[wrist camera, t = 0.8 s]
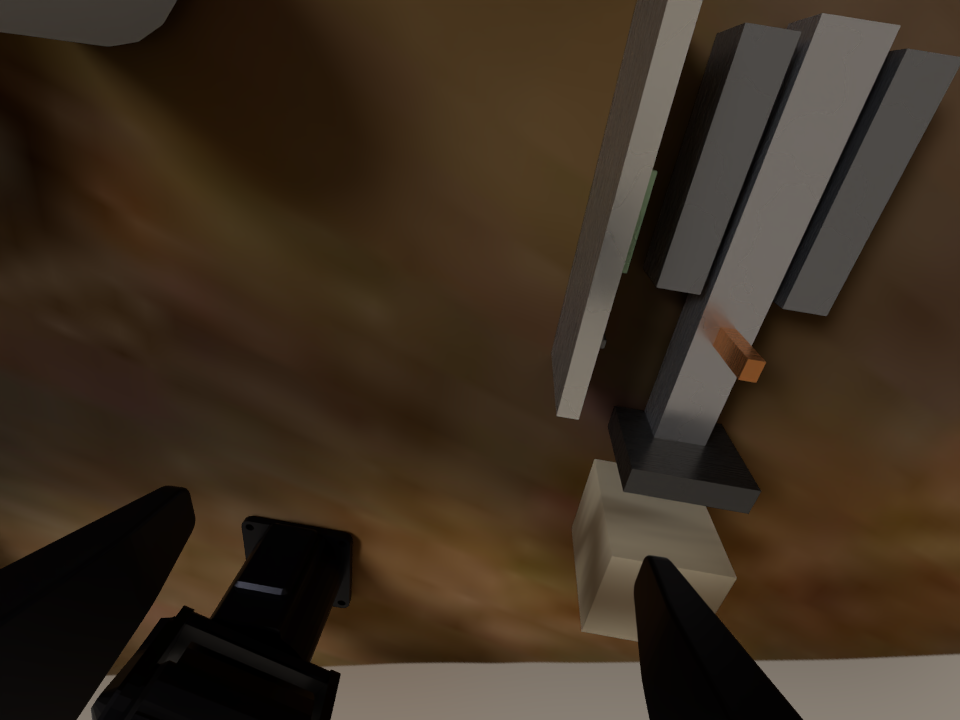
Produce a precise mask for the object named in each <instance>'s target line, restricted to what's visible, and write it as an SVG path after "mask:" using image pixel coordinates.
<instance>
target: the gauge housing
mask: <svg viewBox="0 0 960 720" xmlns="http://www.w3.org/2000/svg"><path fill="white" fill-rule="evenodd" d="M701 4H702V0H638V1H637V3H636V7H635V11H634V15H633V19H632V23H631V27H630V31H629V36H628V40H627V44H626V48H625V52H624V56H623V60H622V64H621V68H620V73H619V77H618V81H617V85H616V89H615V93H614V97H613V101H612V106H611V110H610V114H609V118H608V122H607V126H606V130H605V134H604V138H603V143H602V147H601V151H600V155H599V159H598V163H597V167H596V171H595V176H594V180H593V184H592V188H591V192H590V196H589V200H588V204H587V208H586V213H585V217H584V221H583V225H582V229H581V233H580V237H579V241H578V245H577V250H576V254H575V258H574V262H573V266H572V270H571V274H570V278H569V283H568V287H567V291H566V295H565V299H564V303H563V307H562V311H561V315H560V320H559V324H558V328H557V332H556V336H555V340H554V344H553V348H552V353H551V354H552V366H553V379H554V391H555V403H556V415H557V416H560V417H566V418H571V419H577V420H579V416H580V413H581V409H582V406H583V403H584V399H585V396H586V393H587V389H588V386H589V382H590V379H591V376H592V372H593V369H594V366H595V362H596V359H597V355H598V352H599V349H600V348H603V349H604V347H605V344H606V338H605V334H604V332H605V328H606V325H607V322H608V318H609V315H610V311H611V308H612V305H613V301H614V298H615V295H616V291H617V288H618V284H619V281H620V278H621V274H622V273H627V271H628V268H629V264H630V261H631V258H632V254H633V251H634V248H635V245H636V241H637V238H638V235H639V231H640V228H641V225H642V221H643V218H644V215H645V211H646V208H647V205H648V201H649V198H650V195H651V191H652V188H653V185H654V181H655V178H656V175H657V171H656V170H654V169H653V166H654V163H655V159H656V156H657V153H658V149H659V146H660V142H661V139H662V136H663V132H664V129H665V126H666V122H667V119H668V115H669V112H670V109H671V105H672V102H673V98H674V95H675V92H676V88H677V85H678V82H679V78H680V75H681V71H682V68H683V65H684V61H685V58H686V55H687V51H688V48H689V44H690V41H691V38H692V34H693V31H694V27H695V24H696V21H697V17H698V14H699V11H700V7H701ZM800 35H801V31H794V30H788V29H782V28H776V27H769V26H763V25H757V24H751V23H743V24H741V25H738V26H736V27H733V28H730V29H728V30H725V31H722V32H720V33H717V35H716V38H715V41H714V44H713V48H712V51H711V54H710V57H709V60H708V63H707V67H706V70H705V73H704V76H703V79H702V82H701V86H700V89H699V92H698V95H697V98H696V101H695V105H694V108H693V111H692V114H691V117H690V120H689V124H688V127H687V130H686V133H685V136H684V139H683V142H682V146H681V149H680V152H679V155H678V158H677V161H676V165H675V168H674V171H673V174H672V177H671V180H670V184H669V187H668V190H667V193H666V196H665V199H664V203H663V206H662V209H661V212H660V215H659V218H658V222H657V225H656V228H655V231H654V234H653V237H652V241H651V244H650V247H649V250H648V253H647V256H646V260H645V263H644V266H643V269H644V270H645V272H646V273H647V274H648V276H649V277H650V279H651V280H652V282H653V283H654V285H655V286H656V288H662V289H668V290H674V291H680V292H686V293H692V294H698V295H700V294H701V291H702V289H703V286H704V284H705V281H706V279H707V276H708V273H709V271H710V268H711V266H712V263H713V260H714V258H715V255H716V253H717V250H718V247H719V245H720V242H721V240H722V237H723V234H724V232H725V229H726V227H727V224H728V221H729V219H730V216H731V214H732V211H733V209H734V206H735V203H736V201H737V198H738V196H739V193H740V190H741V188H742V185H743V183H744V180H745V177H746V175H747V172H748V170H749V167H750V164H751V162H752V159H753V157H754V154H755V151H756V149H757V146H758V144H759V141H760V139H761V136H762V133H763V131H764V128H765V126H766V123H767V120H768V118H769V115H770V113H771V110H772V107H773V105H774V102H775V100H776V97H777V94H778V92H779V89H780V87H781V84H782V81H783V79H784V76H785V74H786V71H787V69H788V66H789V63H790V61H791V58H792V56H793V53H794V50H795V48H796V45H797V43H798V40H799V37H800ZM959 66H960V57H957V56H950V55H944V54H938V53H932V52H925V51H919V50H913V49H901V50H895V51H889V52H888V54H887V56H886V58H885V61H884V63H883V65H882V67H881V69H880V71H879V73H878V76H877V78H876V80H875V82H874V84H873V86H872V89H871V91H870V93H869V95H868V97H867V99H866V101H865V104H864V106H863V108H862V110H861V112H860V114H859V116H858V119H857V121H856V123H855V125H854V127H853V129H852V131H851V134H850V136H849V138H848V140H847V142H846V144H845V147H844V149H843V151H842V153H841V155H840V157H839V159H838V162H837V164H836V166H835V168H834V170H833V172H832V174H831V177H830V179H829V181H828V183H827V185H826V187H825V189H824V192H823V194H822V196H821V198H820V200H819V202H818V205H817V207H816V209H815V211H814V213H813V215H812V217H811V220H810V222H809V224H808V226H807V228H806V230H805V232H804V235H803V237H802V239H801V241H800V243H799V245H798V248H797V250H796V252H795V254H794V256H793V258H792V260H791V263H790V265H789V267H788V269H787V271H786V273H785V275H784V278H783V280H782V282H781V284H780V286H779V288H778V290H777V293H776V295H775V297H774V299H773V301H774V302H775V303H776V304H777V305H778V306H780V307H781V308H782V309H787V310H793V311H799V312H805V313H810V314H816V315H822V316H827V315H828V313H829V311H830V309H831V307H832V305H833V303H834V301H835V299H836V298H837V296H838V294H839V292H840V290H841V288H842V286H843V284H844V283H845V281H846V279H847V277H848V275H849V273H850V271H851V269H852V268H853V266H854V264H855V262H856V260H857V258H858V256H859V254H860V252H861V251H862V249H863V247H864V245H865V243H866V241H867V239H868V237H869V236H870V234H871V232H872V230H873V228H874V226H875V224H876V222H877V221H878V219H879V217H880V215H881V213H882V211H883V209H884V207H885V205H886V204H887V202H888V200H889V198H890V196H891V194H892V192H893V190H894V189H895V187H896V185H897V183H898V181H899V179H900V177H901V175H902V173H903V172H904V170H905V168H906V166H907V164H908V162H909V160H910V158H911V157H912V155H913V153H914V151H915V149H916V147H917V145H918V143H919V142H920V140H921V138H922V136H923V134H924V132H925V130H926V128H927V126H928V125H929V123H930V121H931V119H932V117H933V115H934V113H935V111H936V110H937V108H938V106H939V104H940V102H941V100H942V98H943V96H944V94H945V93H946V91H947V89H948V87H949V85H950V83H951V81H952V79H953V78H954V76H955V74H956V72H957V70H958V68H959Z"/></svg>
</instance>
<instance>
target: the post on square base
mask: <svg viewBox="0 0 960 720" xmlns="http://www.w3.org/2000/svg"><path fill="white" fill-rule="evenodd" d="M899 28H900V25H894V24H887V23H881V22H875V21H868V20H862V19H856V18H850V17H843V16H837V15H831V14H825V13H821V14H818V15H815V16H812V17H808V18H805V19H802V20H799V21H796V22H792V23H789V24H788V27H787V29H788V30H794V31H801V35H800V37H799V40H798V43H797V45H796V48H795V50H794V53H793V56H792V58H791V61H790V63H789V66H788V69H787V71H786V74H785V76H784V79H783V81H782V84H781V87H780V89H779V92H778V94H777V97H776V100H775V102H774V105H773V107H772V110H771V113H770V115H769V118H768V120H767V123H766V126H765V128H764V131H763V133H762V136H761V139H760V141H759V144H758V146H757V149H756V151H755V154H754V157H753V159H752V162H751V164H750V167H749V170H748V172H747V175H746V177H745V180H744V183H743V185H742V188H741V190H740V193H739V196H738V198H737V201H736V203H735V206H734V209H733V211H732V214H731V216H730V219H729V221H728V224H727V227H726V229H725V232H724V234H723V237H722V240H721V242H720V245H719V247H718V250H717V253H716V255H715V258H714V260H713V263H712V266H711V268H710V271H709V273H708V276H707V279H706V281H705V284H704V286H703V289H702V291H701V294H700V295H698V294H692V293H688V296H687V298H686V301H685V304H684V306H683V309H682V312H681V314H680V317H679V320H678V322H677V325H676V328H675V330H674V333H673V336H672V338H671V341H670V344H669V347H668V349H667V352H666V355H665V357H664V360H663V363H662V365H661V368H660V371H659V373H658V376H657V379H656V381H655V384H654V387H653V389H652V392H651V395H650V398H649V400H648V403H647V406H646V408H645V411H642V410H636V409H630V408H624V407H619V406H614V409H613V412H612V415H611V418H610V421H609V424H608V430H609V434H610V438H611V442H612V446H613V451H614V455H615V459H616V463H617V467H618V472H619V476H620V480H621V484H622V488H623V492H627V493H633V494H639V495H644V496H650V497H656V498H662V499H667V500H673V501H679V502H684V503H690V504H696V505H702V506H707V507H713V508H719V509H724V510H730V511H736V512H742V513H747V514H749V512H750V510H751V508H752V507H753V505H754V503H755V501H756V500H757V498H758V496H759V494H760V493H761V490H760V488H759V487H758V485H757V483H756V482H755V480H754V478H753V477H752V475H751V473H750V472H749V470H748V468H747V466H746V465H745V463H744V461H743V460H742V458H741V456H740V455H739V453H738V451H737V450H736V448H735V446H734V445H733V443H732V441H731V440H730V438H729V436H728V435H727V433H726V431H725V429H724V428H723V426H722V424H717V423H716V422H717V419H718V417H719V415H720V413H721V411H722V409H723V406H724V404H725V402H726V400H727V398H728V396H729V394H730V391H731V389H732V387H733V385H734V383H735V381H736V379H738V380H743V381H749V382H755V383H756V382H757V380H758V378H759V376H760V374H761V372H762V370H763V368H764V366H765V364H766V361H765V360H764V359H763V358H762V357H761V356H760V355H759V354H758V352H757V351H756V350H755V349H754V348H753V347H752V344H753V342H754V340H755V338H756V336H757V333H758V331H759V329H760V327H761V325H762V323H763V321H764V318H765V316H766V314H767V312H768V310H769V308H770V306H771V303H772V301H773V299H774V297H775V295H776V293H777V290H778V288H779V286H780V284H781V282H782V280H783V278H784V275H785V273H786V271H787V269H788V267H789V265H790V263H791V260H792V258H793V256H794V254H795V252H796V250H797V248H798V245H799V243H800V241H801V239H802V237H803V235H804V232H805V230H806V228H807V226H808V224H809V222H810V220H811V217H812V215H813V213H814V211H815V209H816V207H817V205H818V202H819V200H820V198H821V196H822V194H823V192H824V189H825V187H826V185H827V183H828V181H829V179H830V177H831V174H832V172H833V170H834V168H835V166H836V164H837V162H838V159H839V157H840V155H841V153H842V151H843V149H844V147H845V144H846V142H847V140H848V138H849V136H850V134H851V131H852V129H853V127H854V125H855V123H856V121H857V119H858V116H859V114H860V112H861V110H862V108H863V106H864V104H865V101H866V99H867V97H868V95H869V93H870V91H871V89H872V86H873V84H874V82H875V80H876V78H877V76H878V73H879V71H880V69H881V67H882V65H883V63H884V61H885V58H886V56H887V54H888V52H889V50H890V48H891V46H892V43H893V41H894V39H895V37H896V35H897V33H898V31H899Z"/></svg>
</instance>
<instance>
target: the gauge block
mask: <svg viewBox="0 0 960 720" xmlns="http://www.w3.org/2000/svg"><path fill="white" fill-rule="evenodd" d="M572 537H573V548H574V558H575V568H576V579H577V589H578V600H579V610H580V620H581V631H582V632H587V633H593V634H599V635H604V636H610V637H615V638H621V639H627V640H632V641H638V636H637V626H636V615H635V605H634V584H635V580H636V578H637V575H638V573H639V570H640V567H641V565H642V562H643V560H644V558H645V557H646V556H647V555H653V556H660V557H665V558H668V559H669V560H670V561H671V562H672V563H673V564H674V565H675V566H676V568H677V569H678V570H679V571H680V572H681V574H682V575H683V576H684V577H685V578H686V580H687V581H688V582H689V583H690V584H691V586H692V587H693V588H694V589H695V590H696V592H697V593H698V594H699V595H700V596H701V598H702V599H703V600H704V601H705V602H706V604H707V605H708V606H709V607H710V608H711V610H712V611H713V612H714V613H716V612H717V610H718V608H719V607H720V605H721V604H722V602H723V600H724V599H725V597H726V595H727V594H728V592H729V590H730V589H731V587H732V585H733V584H734V582H735V581H736V579H737V577H736V575H735V573H734V570H733V568H732V566H731V563H730V561H729V559H728V556H727V554H726V552H725V549H724V547H723V545H722V543H721V540H720V538H719V536H718V533H717V531H716V529H715V526H714V524H713V522H712V520H711V517H710V515H709V513H708V510H707V508H706V506H702V505H696V504H690V503H684V502H679V501H673V500H667V499H662V498H656V497H650V496H644V495H639V494H633V493H627V492H623V488H622V484H621V480H620V476H619V472H618V467H617V463H615V462H609V461H604V460H598V459H594V462H593V465H592V468H591V471H590V474H589V477H588V480H587V483H586V486H585V489H584V492H583V495H582V498H581V501H580V505H579V508H578V511H577V514H576V517H575V520H574V523H573V526H572Z"/></svg>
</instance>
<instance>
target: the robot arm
mask: <svg viewBox="0 0 960 720" xmlns="http://www.w3.org/2000/svg"><path fill="white" fill-rule="evenodd" d="M194 525H195V514H194V509H193V505H192V501H191V496H190V493H189V491H188V490H187V489H186V488H183V487H176V486H163V487H161V488H159V489H157V490H155V491H153V492H151V493H149V494H147V495H145V496H143V497H141V498H139V499H137V500H135V501H133V502H131V503H129V504H127V505H125V506H123V507H121V508H120V509H118V510H116V511H114V512H112V513H110V514H108V515H106V516H104V517H102V518H100V519H98V520H96V521H94V522H92V523H90V524H88V525H86V526H84V527H82V528H80V529H78V530H76V531H74V532H72V533H70V534H69V535H67V536H65V537H63V538H61V539H59V540H57V541H55V542H53V543H51V544H49V545H47V546H45V547H43V548H41V549H39V550H37V551H35V552H33V553H31V554H29V555H27V556H25V557H23V558H21V559H19V560H18V561H16V562H14V563H12V564H10V565H8V566H6V567H4V568H2V569H0V720H77V718H78V717H79V715H80V714H81V712H82V711H83V709H84V708H85V706H86V705H87V703H88V702H89V700H90V699H91V697H92V696H93V694H94V693H95V691H96V689H97V688H98V687H99V685H100V683H101V682H102V681H103V679H104V678H105V676H106V675H107V673H108V672H109V670H110V669H111V667H112V666H113V664H114V663H115V661H116V660H117V658H118V657H119V655H120V654H121V652H122V651H123V649H124V648H125V646H126V645H127V643H128V642H129V640H130V639H131V637H132V635H133V634H134V632H135V631H136V629H137V628H138V626H139V625H140V623H141V622H142V620H143V619H144V617H145V616H146V614H147V613H148V611H149V610H150V608H151V606H152V605H153V603H154V601H155V600H156V598H157V596H158V594H159V593H160V591H161V589H162V587H163V585H164V583H165V581H166V580H167V578H168V576H169V574H170V572H171V570H172V568H173V566H174V565H175V563H176V561H177V559H178V557H179V555H180V553H181V552H182V550H183V548H184V546H185V544H186V542H187V540H188V538H189V537H190V535H191V533H192V531H193V528H194ZM242 533H243V541H244V548H245V556H246V561H245V563H244V564H243V566H242V568H241V569H240V571H239V572H238V574H237V576H236V577H235V579H234V580H233V582H232V584H231V585H230V587H229V588H228V590H227V592H226V593H225V595H224V596H223V598H222V600H221V601H220V603H219V604H218V606H217V608H216V609H215V611H214V612H213V614H212V616H211V617H210V619H209V618H207V617H205V616H202V615H200V614H198V613H195V612H193V611H194V609H192V608H189V607H187V606H185V605H184V606H183V608H182V609H181V610H180V612H179V613H178V614H177V616H176V617H175V616H174V617H171V618H161V619H160V620H159V622H158V623H157V624H156V626H155V627H154V628H153V630H152V631H151V633H150V634H149V635H148V637H147V638H146V640H145V641H144V642H143V644H142V645H141V646H140V648H139V649H138V650H137V652H136V653H135V654H134V655H133V657H132V658H131V659H130V660H129V661H128V662H127V664H126V665H125V666H124V667H123V668H122V669H121V671H120V672H119V673H118V674H117V675H116V677H115V678H114V679H113V680H112V681H111V682H110V684H109V685H108V686H107V687H106V688H105V690H104V691H103V692H102V693H101V694H100V696H99V697H98V698H97V700H96V701H95V703H94V704H93V706H92V708H91V713H92V720H330V719H331V714H332V711H333V706H334V702H335V697H336V693H337V688H338V684H339V679H340V673H338V672H336V671H334V670H330V671H329V670H326V669H324V668H322V667H319V666H317V665H315V664H313V663H310V661H311V659H312V656H313V654H314V651H315V649H316V646H317V644H318V641H319V638H320V636H321V633H322V631H323V628H324V626H325V623H326V621H327V618H328V616H329V613H330V611H331V608H332V606H334V607H340V608H346V607H348V606H349V603H350V601H351V587H352V544H353V539H352V537H351V536H350V535H349V534H347V533H344V532H339V531H333V530H327V529H322V528H316V527H310V526H305V525H299V524H294V523H288V522H282V521H277V520H271V519H265V518H260V517H254V516H248V517H247V518H246V519H245V520H244V521H243V523H242ZM634 605H635V615H636V626H637V636H638V647H639V657H640V666H641V676H642V683H643V689H644V694H645V699H646V704H647V709H648V714H649V719H650V720H803V719H802V718H801V716H800V715H799V714H798V713H797V712H796V710H795V709H794V708H793V707H792V706H791V704H790V703H789V702H788V701H787V700H786V699H785V697H784V696H783V695H782V694H781V693H780V692H779V690H778V689H777V688H776V686H775V685H774V684H773V683H772V682H771V680H770V679H769V678H768V677H767V676H766V674H765V673H764V672H763V671H762V670H761V669H760V667H759V666H758V665H757V664H756V662H755V661H754V660H753V659H752V658H751V656H750V655H749V654H748V653H747V652H746V650H745V649H744V648H743V647H742V646H741V644H740V643H739V642H738V641H737V640H736V638H735V637H734V636H733V635H732V634H731V632H730V631H729V630H728V629H727V628H726V626H725V625H724V624H723V623H722V622H721V620H720V619H719V618H718V617H717V616H716V614H715V613H714V612H713V611H712V610H711V608H710V607H709V606H708V605H707V604H706V602H705V601H704V600H703V599H702V598H701V596H700V595H699V594H698V593H697V592H696V590H695V589H694V588H693V587H692V586H691V584H690V583H689V582H688V581H687V580H686V578H685V577H684V576H683V575H682V574H681V572H680V571H679V570H678V569H677V568H676V566H675V565H674V564H673V563H672V562H671V561H670V560H669V559H668V558H665V557H660V556H653V555H647V556H646V557H645V558H644V560H643V562H642V565H641V567H640V570H639V573H638V575H637V578H636V580H635V584H634Z"/></svg>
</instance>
